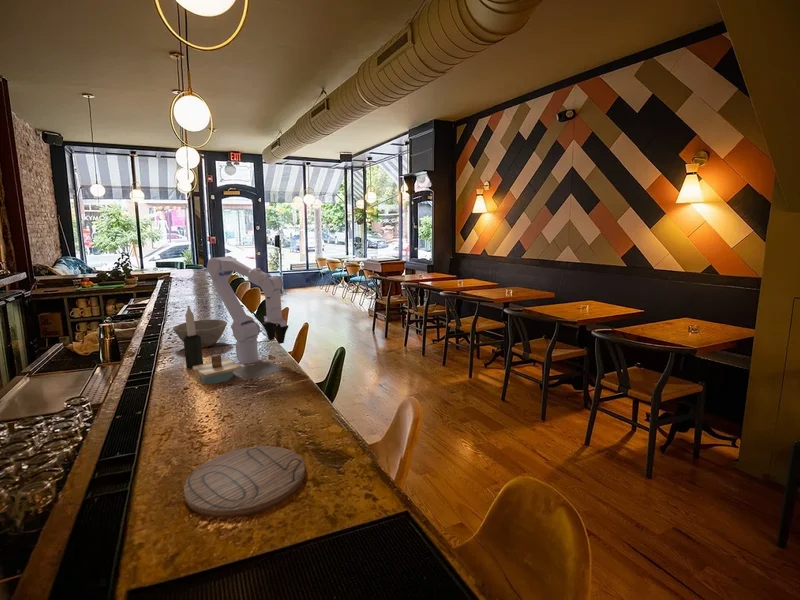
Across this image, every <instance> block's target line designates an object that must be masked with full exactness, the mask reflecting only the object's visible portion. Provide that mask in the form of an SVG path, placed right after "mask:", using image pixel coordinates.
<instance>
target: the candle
mask: <svg viewBox="0 0 800 600" xmlns="http://www.w3.org/2000/svg"><path fill="white" fill-rule="evenodd" d="M186 307H187V310H186V313H184V314H185V315H184V316H185V323H186V326H187V335H185V337H184V338H183V341H184V342H183V341H182V342H183V347H184V348H183V350H184V357H185V367H186V370H190V369H191V370H193V367H192V366H197V365H201V364H204V358H203V357H204V356H203V351H202V350H203V347H202V346H201V337H200V335H198V334H196V332H195V323H194V321H195V315H194V312H192V310H191V308H190V305H187V306H186Z"/></svg>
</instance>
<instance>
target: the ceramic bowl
mask: <svg viewBox="0 0 800 600" xmlns="http://www.w3.org/2000/svg"><path fill="white" fill-rule="evenodd" d="M194 323H195V332H196V334H198V335H200V337H201V346H202V348H207V347H208V346H209V347H211V346H213V345H215V344H217V342H218V341H219V340H220V338H221V337H222V335H223V334H224V331H225V330H226V328H227V325H228V321H226V320H222V319H201V320H194ZM172 330H173V332H175V335H176V336H177V337H178V338H179V340H180V341H181V342H182V343H184V341H183V338H184V337H185V335H187V326H186V322H183V323H180V324H177V325H175V326H173V328H172Z"/></svg>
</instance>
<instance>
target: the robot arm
mask: <svg viewBox="0 0 800 600" xmlns="http://www.w3.org/2000/svg"><path fill="white" fill-rule="evenodd" d="M206 270H207V272H208V274H209V276H210V278H211V282H212V284H213V286H214V288H215V291H216V292H217V294H218V295H219V297H220V299H221V301H222V302H223V304H224V306H225V309H226V310H227V312H228V314H229V315H230V318H231V319H232V321H233V322H232V324H231V325H230V328H231V331H232V335H233V337H234V339H235V340H236V343H235V353H236V358H234V360H236V362H240V363H241V364H243V365H246V364H251V363H254V362H259V361H262V360H263V359H262V358H260V357H259V351H258V338H259V337H258V336H259V335H260V333H261V327H260V324H259V323H257V322H256V321H255V319H254V317H253V316H250V315H249V314H247V313H246V311H245V310H244V307H243V306H242V304H241V302H240V300H239V299H238V297H237V295H236V294H235V293H236V292H235V291H234V290H233V288H232V286H231V285H230V283H229V280H230V278H231V277H232V275H233V273H234V272H235V273H236V274H237V273H238V274H240V275H242V276H245V277H247V280H248V281H249V282H250V283H252V284H254V285H256V286H258V287H260V289H261V290H262V292H263V296H264V299H265V310H266V311H265V312H266V313H265V314H266V315H264V316H263V321H264V322H262V323H261V325H262V327H263V328H264V330H265V332H266V335H267V339H268V341H273V340H276V342H277V344H278V345H281V344H284V343H285V338H286V333H287V330H288V329H289V325H288V324H287V321H286V320H285V319H284V318H283V310H282V299H281V297H282V296H281V290H282V289H283V286H284V285H283V284H284V282H283V280H282V278H281V277H280V276H278V275H273V276H272V274H271V273H266V272H264V271H263V270H262V269H261V268H260V267H256V268H250V267H248V266H247V265H246V264H243V263H242V262H240V261H239V260H237V258H235V257H233V256H230V255H227V256H221V257H219V256H218V257H211V258H209V259H208V261H207V264H206Z"/></svg>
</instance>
